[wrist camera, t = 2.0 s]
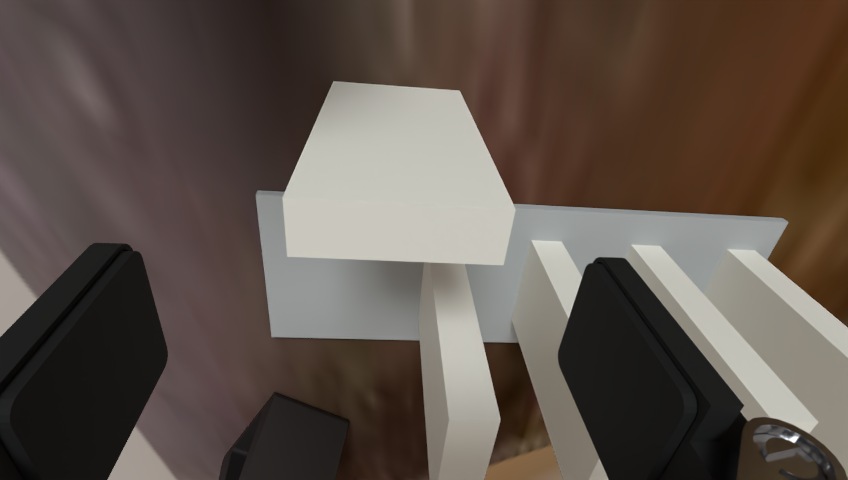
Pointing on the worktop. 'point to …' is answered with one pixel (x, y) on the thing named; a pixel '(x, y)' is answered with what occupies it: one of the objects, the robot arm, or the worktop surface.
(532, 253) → the domino
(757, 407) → the domino
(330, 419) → the phone stand
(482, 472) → the domino
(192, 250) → the worktop surface
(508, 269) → the mat
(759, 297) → the domino
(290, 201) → the domino
